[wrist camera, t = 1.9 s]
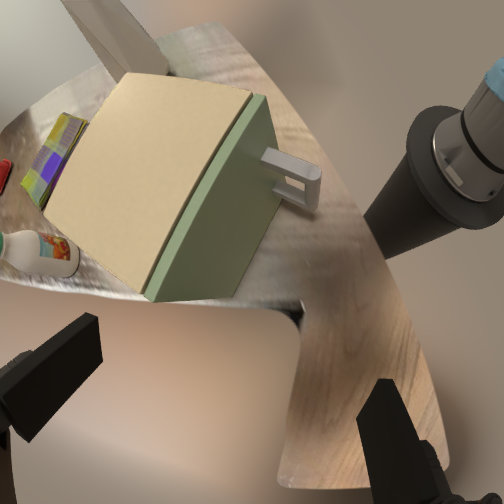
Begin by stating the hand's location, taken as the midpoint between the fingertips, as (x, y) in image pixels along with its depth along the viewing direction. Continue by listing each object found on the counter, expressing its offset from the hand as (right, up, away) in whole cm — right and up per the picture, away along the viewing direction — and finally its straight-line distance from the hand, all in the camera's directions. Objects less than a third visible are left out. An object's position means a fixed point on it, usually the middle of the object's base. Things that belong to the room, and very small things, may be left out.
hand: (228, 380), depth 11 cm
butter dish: (-83, +31, +50) cm, 102 cm away
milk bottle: (-37, +4, +37) cm, 52 cm away
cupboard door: (+4, +6, +29) cm, 29 cm away
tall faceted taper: (-21, +43, +39) cm, 62 cm away
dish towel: (-50, +30, +43) cm, 72 cm away
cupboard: (-6, +11, +31) cm, 34 cm away
